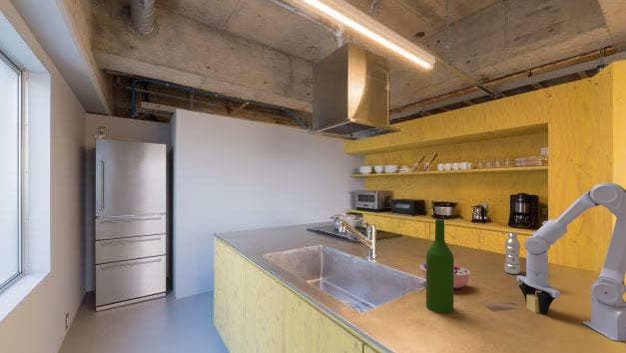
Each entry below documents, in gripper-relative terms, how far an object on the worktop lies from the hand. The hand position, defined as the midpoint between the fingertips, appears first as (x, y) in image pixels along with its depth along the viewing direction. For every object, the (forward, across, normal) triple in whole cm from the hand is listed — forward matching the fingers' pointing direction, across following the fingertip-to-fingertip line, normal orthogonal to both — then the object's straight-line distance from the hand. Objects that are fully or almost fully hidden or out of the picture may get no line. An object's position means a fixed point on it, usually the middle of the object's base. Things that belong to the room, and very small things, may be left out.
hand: (536, 309), depth 94 cm
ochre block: (+2, 0, 0) cm, 2 cm away
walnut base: (+2, +1, +10) cm, 10 cm away
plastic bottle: (+2, +37, -25) cm, 45 cm away
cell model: (+2, +25, +19) cm, 31 cm away
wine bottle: (+2, +6, +32) cm, 33 cm away
